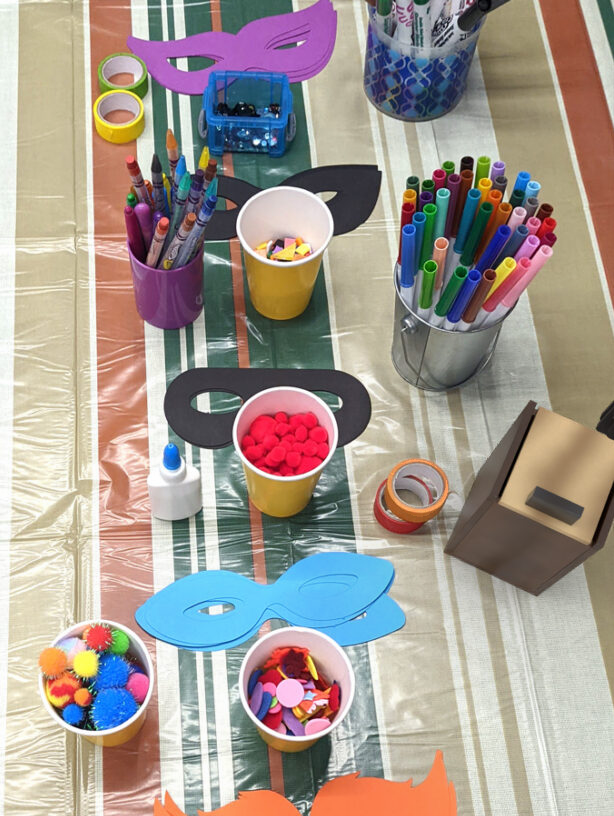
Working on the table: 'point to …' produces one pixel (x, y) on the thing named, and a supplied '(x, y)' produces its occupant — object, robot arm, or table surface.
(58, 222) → the table surface
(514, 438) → the craft box
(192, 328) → the table surface
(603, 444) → the box lid
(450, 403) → the table surface
